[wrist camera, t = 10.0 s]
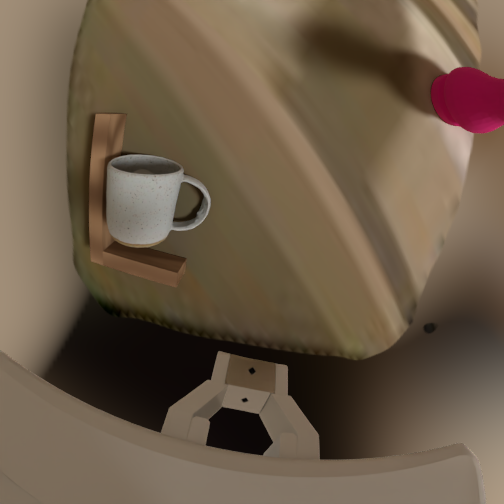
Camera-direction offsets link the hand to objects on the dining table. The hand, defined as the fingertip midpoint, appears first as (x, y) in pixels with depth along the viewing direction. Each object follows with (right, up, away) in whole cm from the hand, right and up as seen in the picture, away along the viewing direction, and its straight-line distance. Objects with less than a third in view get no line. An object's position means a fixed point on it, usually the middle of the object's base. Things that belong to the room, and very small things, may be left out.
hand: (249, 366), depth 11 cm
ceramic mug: (-9, +12, +18) cm, 24 cm away
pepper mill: (+23, +22, +10) cm, 33 cm away
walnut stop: (-12, +12, +19) cm, 25 cm away
